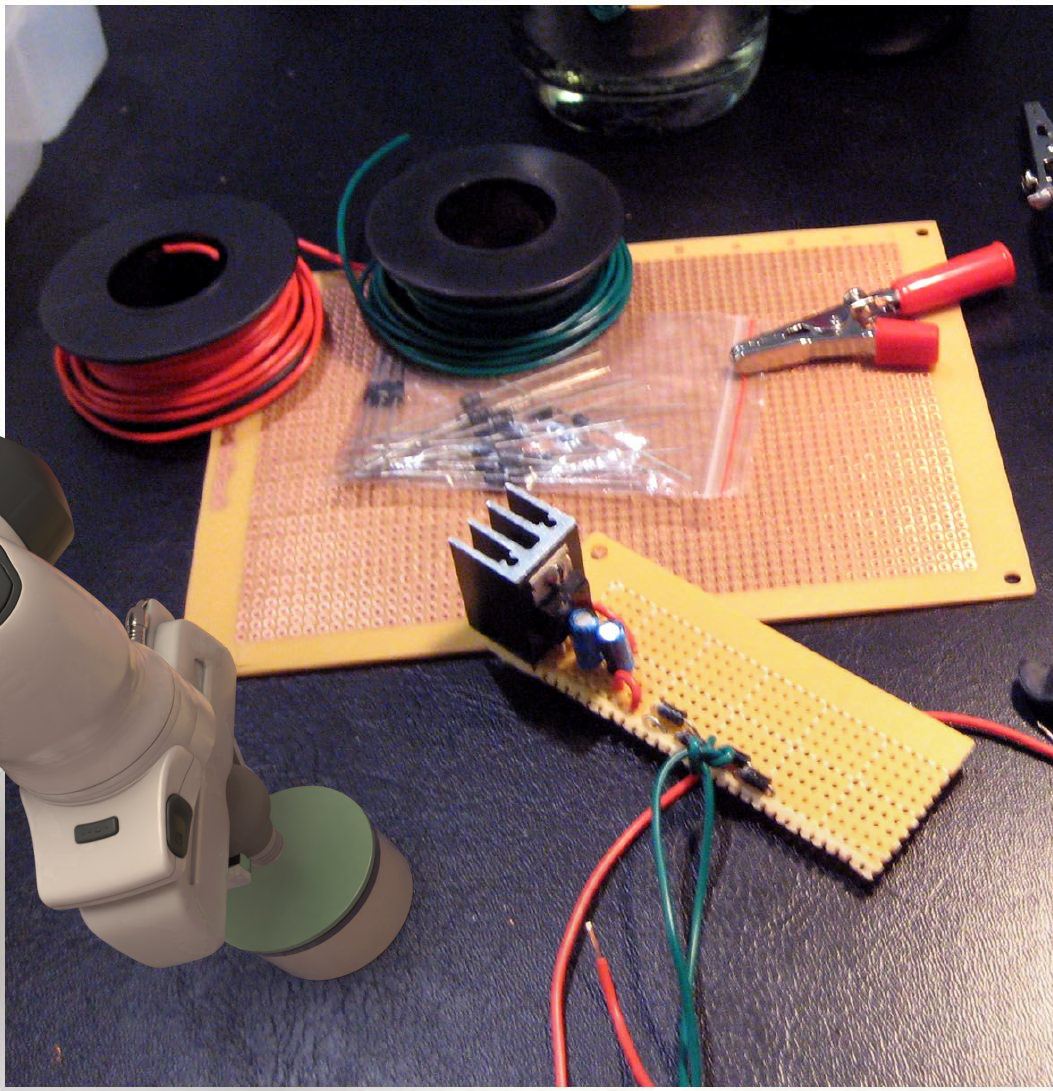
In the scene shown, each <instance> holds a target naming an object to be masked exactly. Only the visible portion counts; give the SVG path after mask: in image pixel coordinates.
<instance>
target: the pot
mask: <svg viewBox="0 0 1053 1091" xmlns="http://www.w3.org/2000/svg"><path fill="white" fill-rule="evenodd" d="M269 797H270V801H271V810H270V819H271V821H272V825H273V827H274V828H275V829H277V830H278V831H280V832H281V833H282V834H283V836H284V839H285V846H284V850H283V852H282V854H281V855H280V857H279V858H278V859H277V860H276V861H275V862H274V863H272V864H270V865H268V866H266V867H262V868H256V867H253V866H251V882H250V883H249V884H247V885H244V886H240V887H236V888H232V889H227V908H226V937H225V941H224V943H226V944H227V945H229V946H231V947H233V948H235V949H237V950H241V951H242V952H246V953H247V954H251V955H255V956H258V957H259V958H262V959H263V960H265V961H266V962H268V963H270V964H272V965H273V966H275V967H277V968H278V969H280V970H282V971H283V972H284V973H287V974H289V975H291V976H293V977H295V978H298V979H302V980H308V981H328V980H333V979H338V978H341V977H344V976H348V975H350V974H352V973H354V972H356V971H358V970H360V969H362V968H364V967H365V966H367V965H368V964H370V963H371V962H373V961H374V960H375V959H377V958H378V957H379V956H380V955H381V954H382V953H383V952H385V950H386V949H387V948H389V946H390V945H391V944H392V943H393V942H394V940H395V938H396V937H397V936H398V935H399V933H400V931H401V929H402V927H403V926H404V924H405V923H406V920H407V917H408V916H409V912H410V909H411V905H412V902H413V901H412V900H413V894H414V892H413V891H414V882H413V874H412V870H411V867H410V865H409V862H408V860H407V858H406V857H405V855H404V854H403V852H402V851H401V850H400V849H399V848H398V847H397V846H396V845H395V844H394V843H393V841H391V840H390V839H389V838H388V837H387V836H385V835H384V834H383V833H382V832H381V830H379V829H378V828H377V827H376V826H375V825H374V823H373V821H372V820H371V819H370V817H369V816H368V815H367V813H366V812H365V810H364V809H363V808H362V807H361V806H360V805H359V804H358V803H357V802H356V801H355V800H354V799H352V798H351V797H350V796H349V795H347V794H345V793H343V792H341V791H340V790H336V789H333V788H332V787H325V786H320V785H303V786H301V785H300V786H295V787H290V788H285V789H282V790H279V791H276V792H274V793H271V794H269Z"/></svg>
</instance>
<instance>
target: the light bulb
mask: <svg viewBox="0 0 1053 1091" xmlns="http://www.w3.org/2000/svg"><path fill="white" fill-rule="evenodd" d="M251 770H252V769H251ZM251 770H249V769H247V768H246V767H243V766H240V765H237V764H233V767H232V768H231V770H230V773H229V775H228V778H227V782H226V803H227V808H228V814H229V821H230V839H229V858H231V857H234V856H236V855H238V854H240V853H243V854H244V855H246V857H247V858H250V859H251V866H253V867H256V868H262V867H266V866H268V865H270V864H272V863H274V862H275V861H276V860H277V859H278V858H279V857H280V855H281V854H282V852H283V850H284V846H285V839H284V836H283V834H282V833H281V832H280V831H278V830H277V829H275V828H274V827H273V825H272V821H271V819H270V810H271V801H270V797H269V795H270V794H269V791H268V788H267V787H266V785H265V784H264V782H263V781H262V779H261V778H260V776H258V775H257V774H256V773H255V771H254V772H252V771H253V770H252V771H251Z"/></svg>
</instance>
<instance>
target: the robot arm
mask: <svg viewBox="0 0 1053 1091" xmlns="http://www.w3.org/2000/svg"><path fill="white" fill-rule="evenodd" d="M74 537H75V526H74V521H73V517H72V512H71V510H70V505H69V502H68V500H67V497H66V495H65V492H64V490H63V488H62V486H61V484H60V482H59V480H58V479H57V476H56V475H55V473H54V472H53V470H52V469H51V467H50V466H49V465H48V464H47V462H45V461H44V459H43V458H41V457H40V456H39V455H38V454H36V453H35V452H33V451H31V450H30V449H28V448H27V447H25V446H24V445H22V444H20V443H17V442H15V441H13V440H10V438H9V439H8V438H7V437H3V436H1V435H0V768H1V769H2V771H3V772H4V773H5V775H6V776H7V777H8V778H9V779H10V780H11V781H12V782H13V783H15V785H17V786H19V795H20V800H21V803H22V806H23V809H24V812H25V815H26V818H27V823H28V827H29V830H30V836H31V843H32V848H33V855H34V866H35V879H36V887H37V888H36V889H37V894H38V897H39V899H40V901H42V903H43V904H44V905H45V906H46V907H48V908H50V909H52V910H56V911H65V910H73V909H78V910H79V913H80V916H81V918H82V920H83V922H84V923H85V925H86V926H87V928H88V929H89V930H90V931H91V933H93V934H94V935H95V936H96V937H97V938H98V939H100V940H101V941H103V942H104V943H106V944H107V945H109V946H110V947H112V948H113V949H115V950H116V951H118V952H120V953H122V954H123V955H125V956H126V957H128V958H130V959H132V960H133V961H137V962H138V963H140V964H142V965H145V966H147V967H150V968H155V969H156V968H157V969H158V968H159V969H161V968H169V967H174V966H179V965H180V966H181V965H184V964H189V963H191V962H195V961H198V960H200V959H204V958H207V957H209V956H211V955H213V954H215V953H216V952H217V951H218V950H219V949H220V948H222V946H223V945H224V943H225V942H224V941H225V937H226V908H227V889H232V888H236V887H240V886H244V885H247V884H249V883H250V882H251V859H250V858H247V857H246V855H244V854H243V853H240V854H238V855H236V856H234V857H231V858H229V839H230V821H229V814H228V808H227V803H226V782H227V778H228V775H229V773H230V770H231V768H232V767H233V764H237V765H240V766H243V767H246V768H247V769H249V770H251V771H252V772H254V773H255V771H254V770H253V769H251V767H249V766H248V765H247V764H246V763H245V760H244V757H243V755H242V752H241V750H240V747H239V744H238V742H237V740H236V737H235V719H236V697H237V696H236V695H237V678H238V676H237V675H238V674H237V673H238V671H237V665H236V662H235V660H234V657H233V655H232V652H231V651H230V650H229V648H227V646H225V644H224V643H222V641H220V640H218V638H216V637H215V636H213V635H212V634H211V633H210V632H208V631H207V630H205V629H204V628H202V627H201V626H199V625H198V624H197V623H194V622H193V621H190V620H188V619H185V618H179V619H178V618H177V619H175V617H174V615H172V613H171V612H170V611H169V610H168V609H167V608H166V607H165V606H164V605H163V604H162V603H161V602H159V600H158V599H156V598H147V597H145V598H142V599H140V600H138V601H137V603H136V604H135V606H133V607H131V608H130V609H128V611H127V613H126V618H125V622H124V623H125V624H124V625H123V623H122V622H121V621H120V619H119V618H118V617H117V616H116V615H115V614H114V613H113V611H111V610H110V609H109V608H108V607H107V606H105V604H103V603H102V602H101V601H100V600H99V599H97V598H96V597H95V596H94V595H93V594H91V593H90V592H89V591H87V589H86V588H84V587H83V586H81V585H80V584H79V583H78V582H77V581H75V580H74V579H73V578H71V577H70V576H68V575H67V574H66V573H64V572H62V571H61V570H60V569H59V568H57V567H55V566H54V565H55V564H56V563H57V561H58V560H59V559H60V557H61V556H62V555H63V553H64V552H65V550H66V549H67V548H68V546H69V545H70V544H71V543H72V541H73V539H74Z"/></svg>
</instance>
